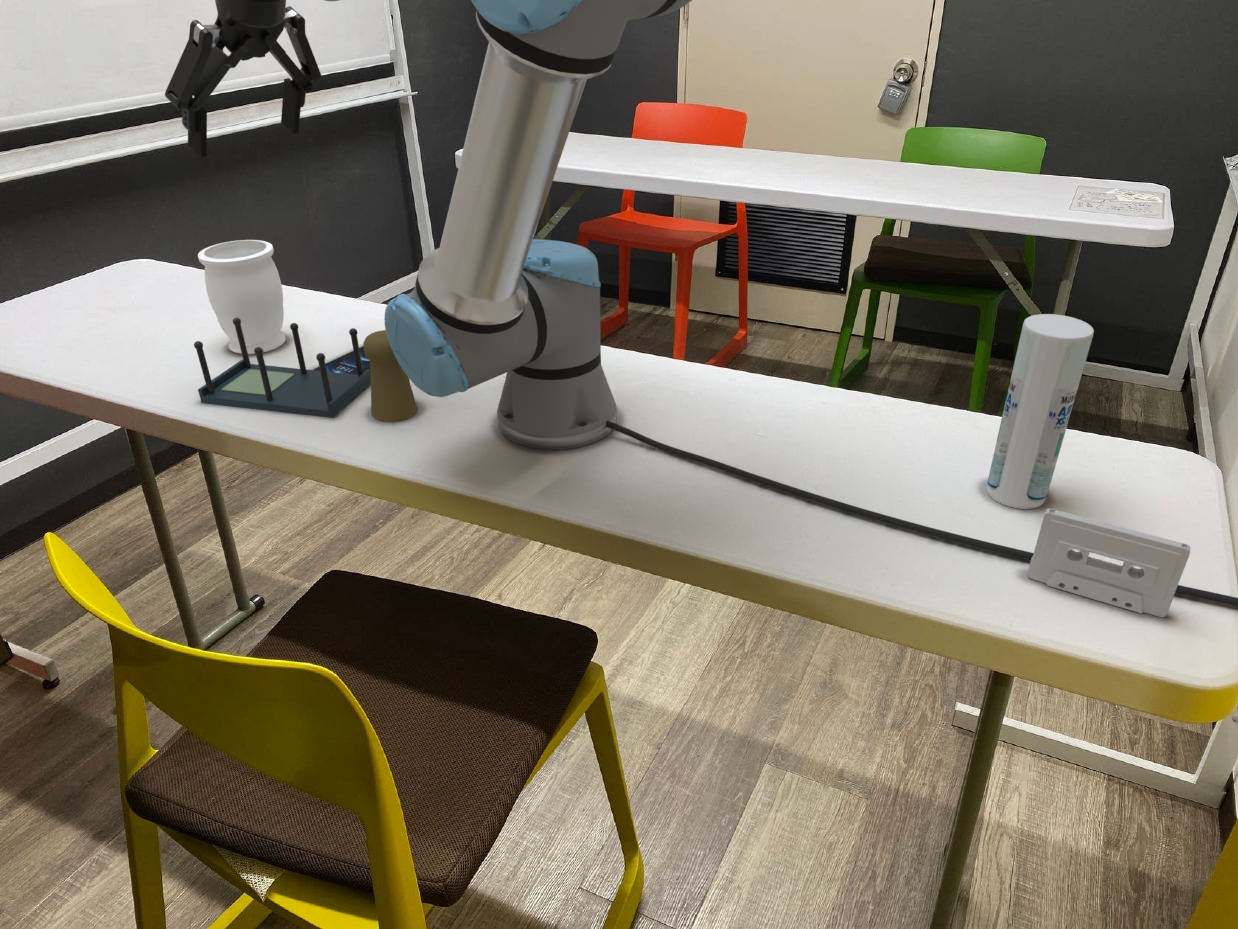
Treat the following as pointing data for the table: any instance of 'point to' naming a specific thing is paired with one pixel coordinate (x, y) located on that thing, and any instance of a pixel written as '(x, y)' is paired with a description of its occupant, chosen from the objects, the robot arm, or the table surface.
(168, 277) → the table surface
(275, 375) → the drying rack
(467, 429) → the table surface
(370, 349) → the cork
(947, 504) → the table surface
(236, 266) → the jar
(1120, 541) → the cassette
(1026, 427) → the spray can
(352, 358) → the smartphone
